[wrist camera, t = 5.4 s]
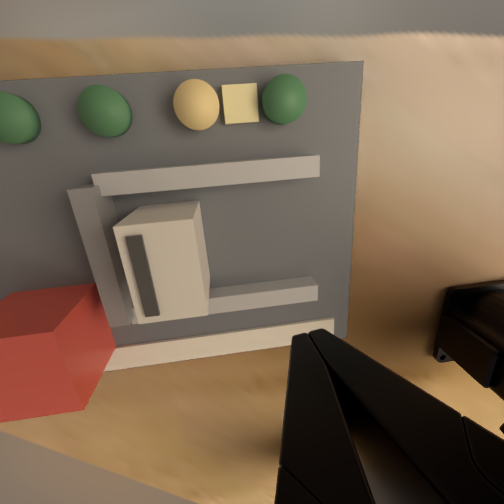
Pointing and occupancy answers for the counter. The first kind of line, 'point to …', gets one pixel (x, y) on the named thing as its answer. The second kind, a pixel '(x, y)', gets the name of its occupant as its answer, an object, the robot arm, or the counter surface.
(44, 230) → the breaker panel
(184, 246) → the panel
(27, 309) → the cap
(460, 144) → the counter surface
